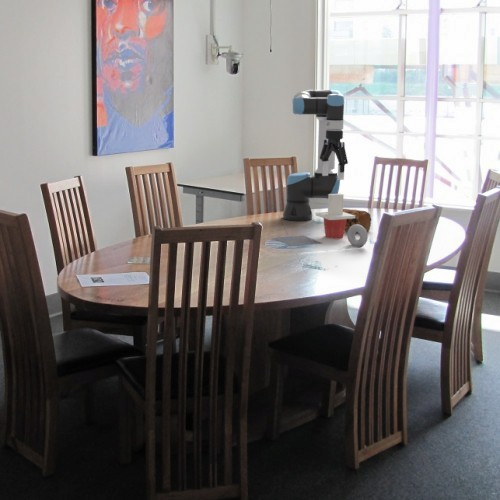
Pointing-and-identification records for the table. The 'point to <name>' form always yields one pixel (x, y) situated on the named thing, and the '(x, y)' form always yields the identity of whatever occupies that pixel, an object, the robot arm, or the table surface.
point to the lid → (335, 208)
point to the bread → (358, 219)
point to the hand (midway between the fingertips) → (332, 177)
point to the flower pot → (334, 228)
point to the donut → (362, 233)
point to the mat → (297, 240)
